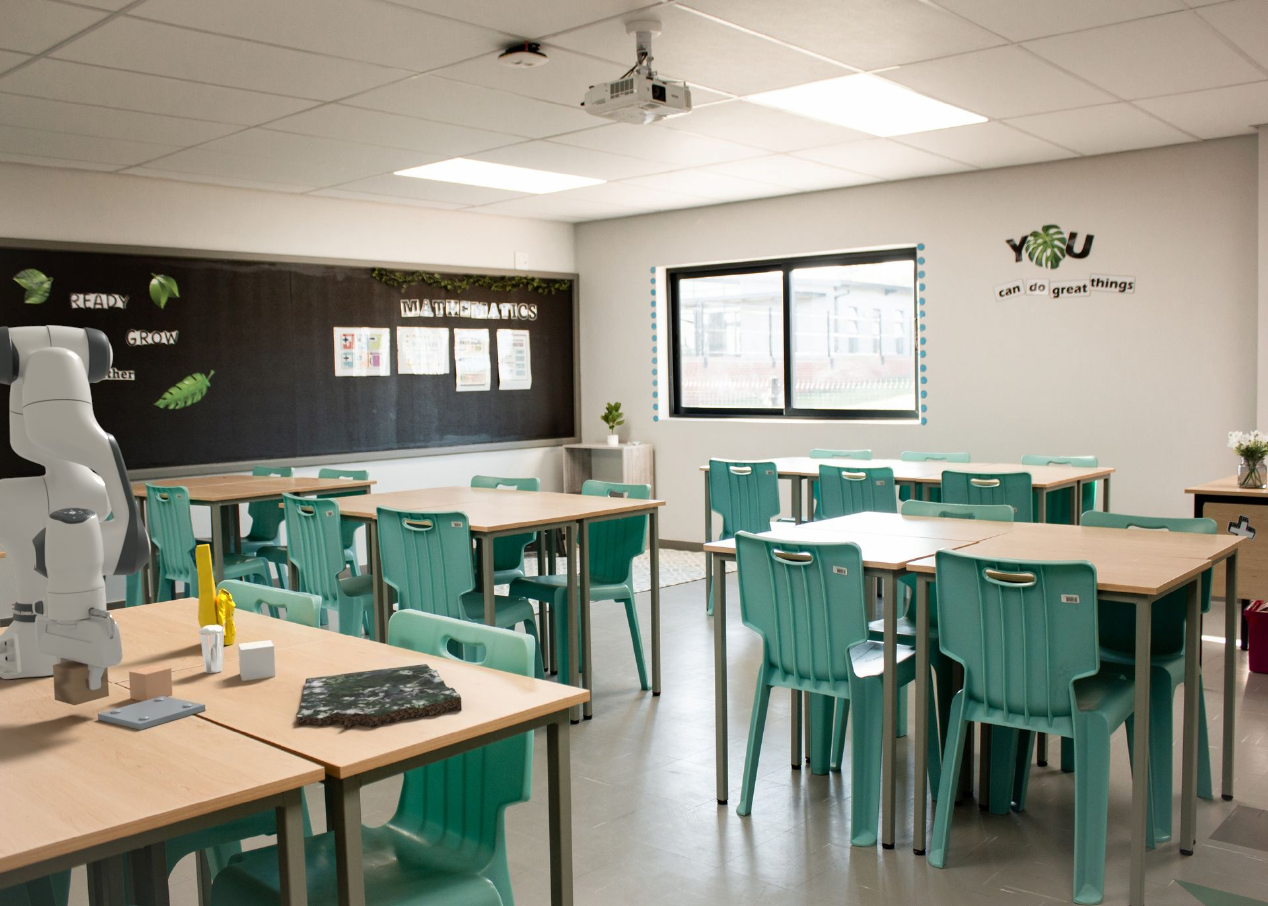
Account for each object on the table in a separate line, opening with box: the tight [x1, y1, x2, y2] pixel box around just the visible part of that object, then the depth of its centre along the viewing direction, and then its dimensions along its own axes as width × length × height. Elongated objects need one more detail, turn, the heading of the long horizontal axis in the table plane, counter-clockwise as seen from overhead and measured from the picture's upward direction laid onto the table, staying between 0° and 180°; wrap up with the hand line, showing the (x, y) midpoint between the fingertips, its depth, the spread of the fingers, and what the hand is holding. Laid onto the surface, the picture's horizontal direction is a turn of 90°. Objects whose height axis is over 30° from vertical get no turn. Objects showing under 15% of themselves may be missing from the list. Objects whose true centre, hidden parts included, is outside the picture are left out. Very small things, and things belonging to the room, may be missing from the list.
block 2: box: [128, 664, 173, 702], centre depth 193 cm, size 5×5×5 cm
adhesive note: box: [237, 639, 276, 682], centre depth 206 cm, size 6×6×6 cm
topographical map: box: [296, 663, 463, 730], centre depth 187 cm, size 26×33×3 cm
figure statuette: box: [195, 543, 237, 646], centre depth 234 cm, size 18×8×22 cm, turn 17°
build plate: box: [97, 696, 206, 731], centre depth 181 cm, size 12×12×1 cm
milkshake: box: [198, 621, 226, 674], centre depth 210 cm, size 4×5×10 cm
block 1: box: [52, 661, 110, 706], centre depth 182 cm, size 6×6×6 cm
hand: (81, 685), depth 182 cm, fingers closed on block 1, 6 cm apart
